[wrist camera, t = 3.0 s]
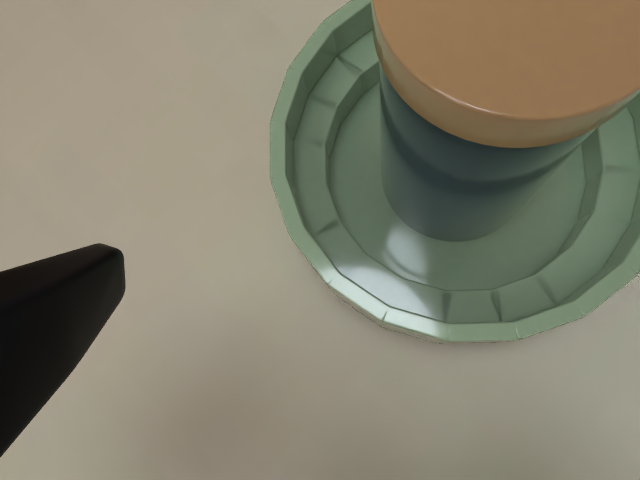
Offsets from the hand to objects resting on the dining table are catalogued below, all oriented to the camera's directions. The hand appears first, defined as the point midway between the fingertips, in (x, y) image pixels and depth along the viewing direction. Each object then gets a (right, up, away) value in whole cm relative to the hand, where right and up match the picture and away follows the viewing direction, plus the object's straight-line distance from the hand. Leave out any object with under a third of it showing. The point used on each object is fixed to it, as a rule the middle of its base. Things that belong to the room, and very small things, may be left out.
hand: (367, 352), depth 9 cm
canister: (+5, +5, +14) cm, 15 cm away
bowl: (+5, +5, +14) cm, 16 cm away
